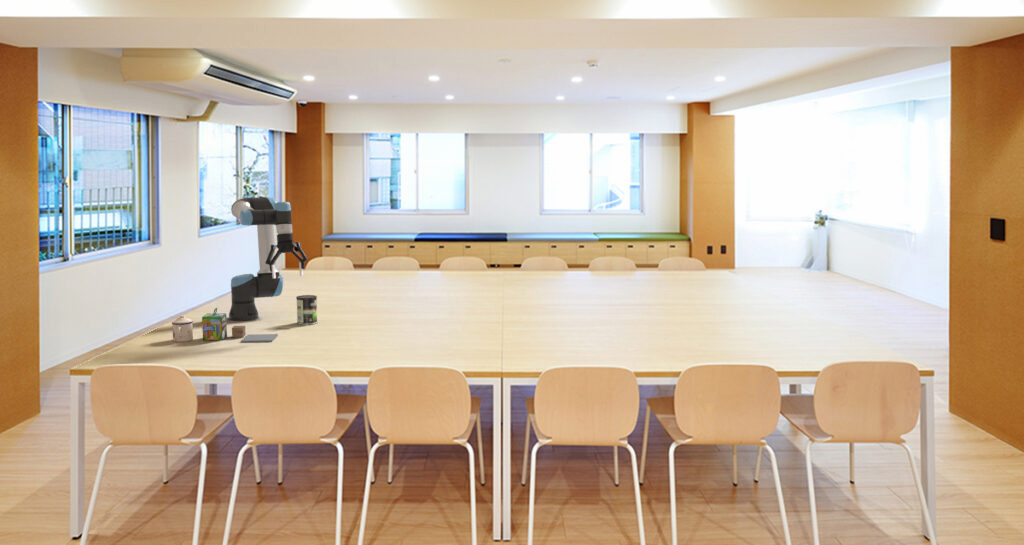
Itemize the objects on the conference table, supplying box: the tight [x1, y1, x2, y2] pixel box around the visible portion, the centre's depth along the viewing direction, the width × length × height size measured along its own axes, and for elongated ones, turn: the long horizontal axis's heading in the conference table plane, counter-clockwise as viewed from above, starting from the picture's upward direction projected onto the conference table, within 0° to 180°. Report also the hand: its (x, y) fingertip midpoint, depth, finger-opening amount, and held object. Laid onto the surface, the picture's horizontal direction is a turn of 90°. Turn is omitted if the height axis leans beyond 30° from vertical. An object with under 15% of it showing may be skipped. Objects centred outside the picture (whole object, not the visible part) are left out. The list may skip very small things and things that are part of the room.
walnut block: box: [231, 325, 247, 338], centre depth 375 cm, size 5×5×5 cm
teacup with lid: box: [171, 314, 194, 343], centre depth 365 cm, size 12×9×12 cm
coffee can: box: [295, 294, 318, 326], centre depth 409 cm, size 10×10×14 cm
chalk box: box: [201, 307, 228, 341], centre depth 370 cm, size 9×9×15 cm
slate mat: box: [240, 333, 279, 343], centre depth 371 cm, size 14×14×1 cm
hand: (287, 277), depth 382 cm, fingers open, 13 cm apart
